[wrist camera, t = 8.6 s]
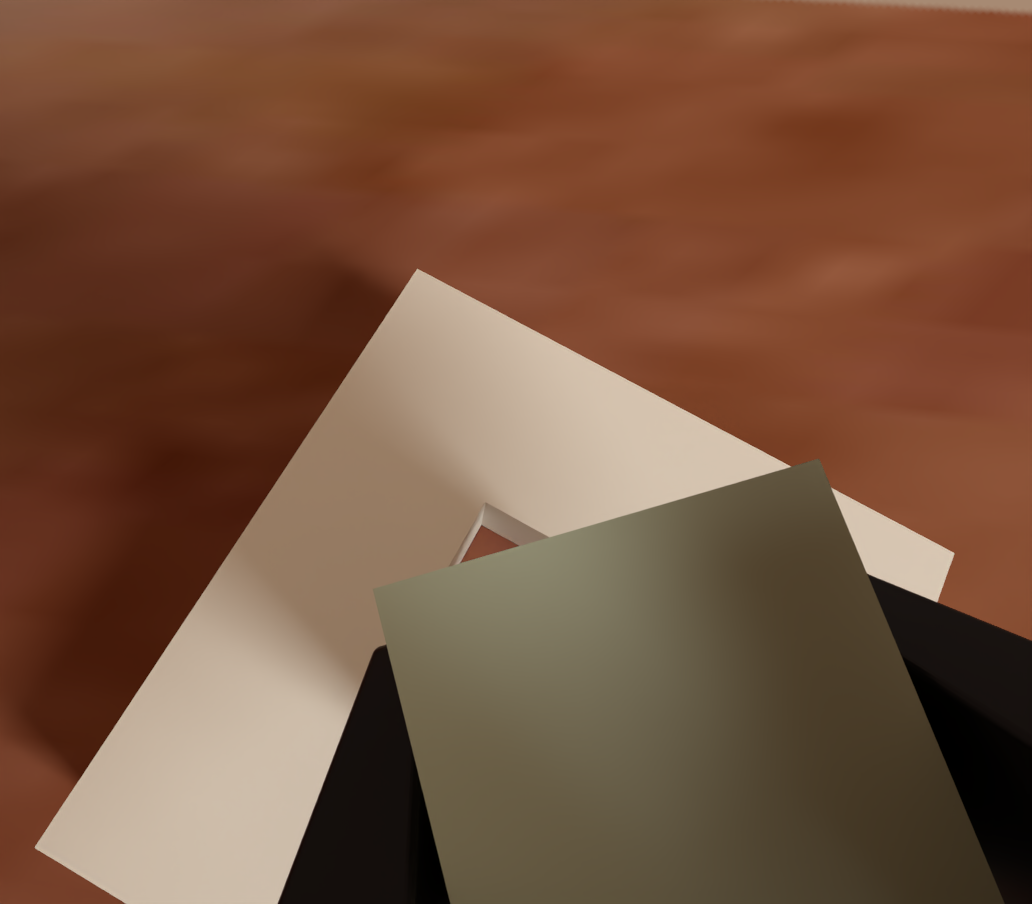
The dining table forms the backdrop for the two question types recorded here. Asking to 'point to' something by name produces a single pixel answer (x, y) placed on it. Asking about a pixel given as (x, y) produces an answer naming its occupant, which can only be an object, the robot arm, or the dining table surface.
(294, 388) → the dining table surface
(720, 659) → the peg
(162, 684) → the socket block
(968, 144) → the dining table surface
